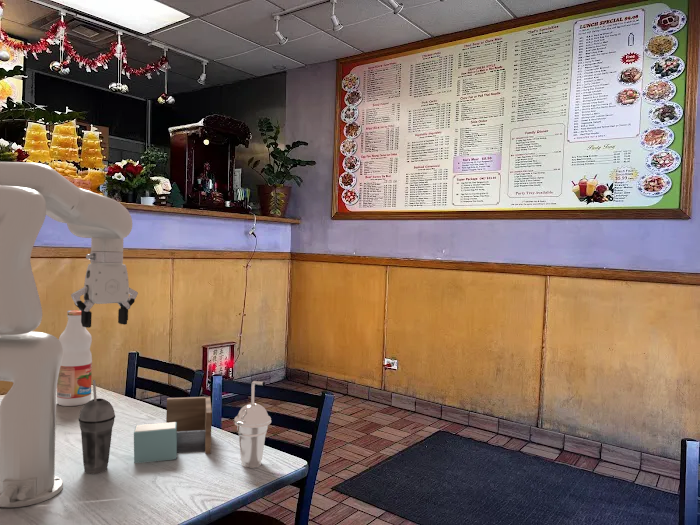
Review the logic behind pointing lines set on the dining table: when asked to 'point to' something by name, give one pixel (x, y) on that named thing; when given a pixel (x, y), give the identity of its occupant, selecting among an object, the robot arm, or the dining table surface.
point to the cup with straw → (252, 431)
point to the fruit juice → (75, 363)
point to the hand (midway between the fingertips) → (105, 325)
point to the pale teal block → (155, 442)
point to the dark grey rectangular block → (190, 441)
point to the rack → (191, 415)
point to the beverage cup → (96, 433)
